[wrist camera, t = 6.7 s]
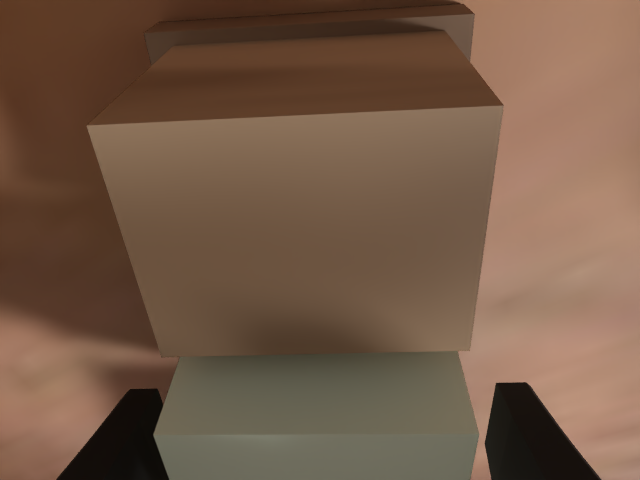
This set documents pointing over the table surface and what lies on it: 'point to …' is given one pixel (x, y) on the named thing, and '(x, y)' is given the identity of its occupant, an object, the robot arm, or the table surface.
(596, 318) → the table surface
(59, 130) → the table surface
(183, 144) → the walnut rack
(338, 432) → the sage block
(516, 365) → the table surface
